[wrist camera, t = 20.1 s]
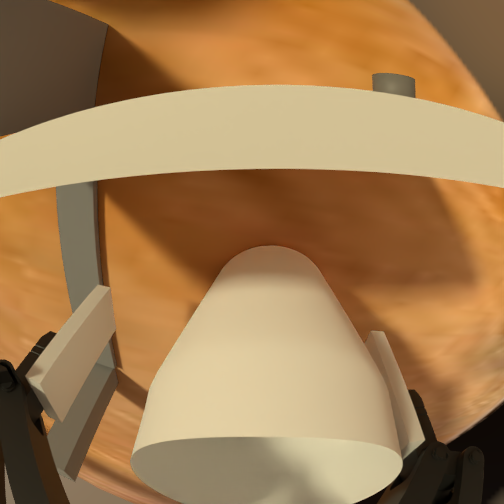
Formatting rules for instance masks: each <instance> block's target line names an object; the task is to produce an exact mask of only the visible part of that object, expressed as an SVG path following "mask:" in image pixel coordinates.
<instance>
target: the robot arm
mask: <svg viewBox="0 0 504 504" xmlns="http://www.w3.org/2000/svg"><path fill="white" fill-rule="evenodd" d="M115 330H116V325H115V318H114V311H113V304H112V296H111V288H110V287H106V286H102V285H97V286H96V287H95V288H94V290H93V291H92V292H91V293H90V294H89V295H88V296H87V298H86V299H85V300H84V301H83V302H82V303H81V305H80V306H79V307H78V308H77V309H76V311H75V312H74V313H73V314H72V315H71V317H70V318H69V319H68V320H67V322H66V323H65V324H64V325H63V327H62V328H61V329H60V330H59V332H58V333H54V332H51V331H50V332H48V333H47V334H45V335H44V336H42V337H41V338H40V340H39V341H38V342H37V343H36V346H34V347H33V348H32V350H31V352H29V353H28V355H27V356H26V357H25V359H24V360H23V361H22V363H21V364H20V365H19V367H18V368H17V369H16V371H15V369H14V367H13V365H12V364H11V363H10V362H9V361H7V360H0V504H6V497H5V470H4V469H5V468H4V466H6V470H7V475H8V479H9V483H10V486H11V490H12V494H13V497H14V500H15V504H70V503H69V500H68V498H67V496H66V493H65V490H64V488H63V485H62V482H61V480H60V477H59V474H58V471H57V468H56V465H55V462H54V459H53V456H52V452H51V449H50V446H49V442H48V438H47V435H46V431H45V427H44V422H43V418H42V416H41V413H42V411H43V409H44V410H45V412H46V414H47V415H48V417H50V418H53V419H55V420H57V421H59V422H61V423H62V422H63V420H64V418H65V417H66V415H67V413H68V411H69V409H70V407H71V405H72V404H73V402H74V400H75V398H76V396H77V394H78V393H79V391H80V389H81V387H82V385H83V384H84V382H85V380H86V378H87V377H88V375H89V373H90V372H91V370H92V368H93V366H94V365H95V363H96V361H97V360H98V358H99V356H100V355H101V353H102V351H103V350H104V348H105V346H106V345H107V343H108V341H109V340H110V338H111V337H112V335H113V333H114V332H115ZM365 346H366V348H367V350H368V351H369V353H370V355H371V357H372V358H373V360H374V362H375V364H376V366H377V367H378V369H379V371H380V373H381V375H382V376H383V379H384V381H385V383H386V385H387V388H388V391H389V395H390V400H391V405H392V410H393V415H394V420H395V425H396V430H397V435H398V440H399V445H400V450H401V455H402V461H403V467H402V470H401V472H400V473H399V475H398V476H397V477H396V479H395V480H394V481H392V482H391V483H390V484H389V486H388V487H387V489H386V490H385V492H384V494H383V495H382V497H381V498H380V500H379V501H378V503H377V504H481V500H482V490H483V476H484V455H483V453H482V451H481V450H480V449H479V448H477V447H475V446H470V447H468V448H467V449H466V450H464V451H463V452H457V451H450V450H449V449H448V447H447V446H446V445H445V444H443V443H441V442H438V441H437V439H436V436H435V434H434V431H433V428H432V425H431V422H430V420H429V417H428V415H427V412H426V409H425V408H424V404H423V401H422V399H421V397H420V396H419V394H418V393H417V392H416V391H415V390H407V387H406V384H405V382H404V379H403V377H402V374H401V372H400V369H399V367H398V364H397V362H396V359H395V357H394V354H393V352H392V350H391V347H390V345H389V343H388V340H387V338H386V336H385V333H384V331H372V330H371V331H370V333H369V335H368V337H367V339H366V341H365Z"/></svg>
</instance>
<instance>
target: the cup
mask: <svg viewBox="0 0 504 504" xmlns="http://www.w3.org/2000/svg"><path fill="white" fill-rule="evenodd" d="M130 464H131V467H132V470H133V471H134V473H135V474H136V475H137V477H138V478H139V479H140V480H142V481H143V482H144V483H145V484H146V485H148V486H149V487H151V488H152V489H154V490H155V491H157V492H159V493H161V494H162V495H164V496H166V497H169V498H171V499H173V500H175V501H178V502H180V503H183V504H353V503H356V502H359V501H361V500H363V499H365V498H368V497H369V496H372V495H374V494H375V493H377V492H379V491H380V490H382V489H383V488H385V487H386V486H388V485H389V484H390V483H391V482H392V481H394V480H395V479H396V477H397V476H398V475H399V473H400V472H401V470H402V467H403V461H402V455H401V450H400V445H399V440H398V435H397V430H396V425H395V420H394V415H393V410H392V405H391V400H390V395H389V391H388V388H387V385H386V383H385V381H384V379H383V376H382V375H381V373H380V371H379V369H378V367H377V366H376V364H375V362H374V360H373V358H372V357H371V355H370V353H369V351H368V350H367V348H366V346H365V344H364V343H363V341H362V339H361V338H360V336H359V334H358V333H357V331H356V329H355V327H354V326H353V324H352V322H351V321H350V319H349V317H348V316H347V314H346V312H345V311H344V309H343V308H342V306H341V304H340V303H339V301H338V299H337V298H336V296H335V294H334V293H333V291H332V290H331V288H330V286H329V285H328V283H327V282H326V280H325V278H324V277H323V275H322V274H321V272H320V271H319V269H318V267H317V266H316V265H315V264H314V263H313V262H312V261H311V260H310V259H309V258H308V257H306V256H305V255H303V254H302V253H300V252H298V251H296V250H293V249H290V248H287V247H282V246H273V245H268V246H259V247H254V248H251V249H248V250H245V251H243V252H241V253H239V254H238V255H236V256H235V257H233V258H232V259H231V260H230V261H229V262H228V263H227V264H226V265H225V266H224V267H223V269H222V270H221V272H220V273H219V275H218V276H217V278H216V279H215V281H214V283H213V284H212V286H211V287H210V289H209V290H208V292H207V294H206V295H205V297H204V298H203V300H202V301H201V303H200V305H199V306H198V308H197V309H196V311H195V312H194V314H193V316H192V317H191V319H190V320H189V322H188V323H187V325H186V327H185V328H184V330H183V331H182V333H181V335H180V336H179V338H178V339H177V341H176V343H175V344H174V346H173V347H172V349H171V351H170V352H169V354H168V356H167V357H166V359H165V360H164V362H163V364H162V365H161V367H160V369H159V370H158V372H157V374H156V376H155V378H154V380H153V382H152V384H151V386H150V389H149V392H148V396H147V401H146V405H145V410H144V413H143V417H142V421H141V424H140V428H139V431H138V435H137V438H136V442H135V445H134V449H133V452H132V456H131V460H130Z"/></svg>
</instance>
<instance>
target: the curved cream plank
mask: <svg viewBox="0 0 504 504" xmlns="http://www.w3.org/2000/svg"><path fill="white" fill-rule="evenodd" d="M372 80H373V91H368V90H359V89H350V88H339V87H325V86H306V85H247V86H228V87H214V88H203V89H194V90H185V91H177V92H170V93H163V94H157V95H151V96H145V97H140V98H134V99H129V100H124V101H120V102H115V103H111V104H107V105H102V106H98V107H94V108H91V109H87V110H83V111H80V112H76V113H73V114H69V115H66V116H63V117H59V118H56V119H53V120H50V121H47V122H44V123H41V124H39V125H36V126H33V127H30V128H28V129H25V130H22V131H20V132H17V133H15V134H12V135H10V136H8V137H5V138H3V139H1V140H0V197H4V196H9V195H13V194H18V193H23V192H28V191H33V190H39V189H44V188H50V187H56V186H62V185H68V184H75V183H82V182H89V181H96V180H104V179H112V178H121V177H130V176H140V175H150V174H162V173H175V172H190V171H208V170H232V169H326V170H350V171H368V172H382V173H395V174H406V175H416V176H426V177H435V178H443V179H451V180H458V181H465V182H472V183H478V184H484V185H490V186H496V187H502V188H504V122H501V121H498V120H495V119H492V118H489V117H486V116H483V115H480V114H477V113H473V112H470V111H466V110H463V109H459V108H456V107H452V106H448V105H444V104H440V103H435V102H431V101H427V100H422V99H417V98H415V79H414V78H411V77H408V76H404V75H399V74H391V73H377V74H373V75H372Z"/></svg>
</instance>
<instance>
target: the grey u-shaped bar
mask: <svg viewBox="0 0 504 504" xmlns="http://www.w3.org/2000/svg"><path fill="white" fill-rule="evenodd" d="M107 28H108V24H106V23H104V22H102V21H99V20H97V19H95V18H92V17H90V16H88V15H85V14H83V13H80V12H78V11H75V10H73V9H70V8H68V7H65V6H62V5H60V4H57V3H54V2H51V1H48V0H0V136H4V135H8V134H13V133H17V132H20V131H22V130H25V129H28V128H30V127H33V126H36V125H39V124H41V123H44V122H47V121H50V120H53V119H56V118H59V117H63V116H66V115H69V114H73V113H76V112H80V111H83V110H87V109H91V108H94V107H95V98H96V90H97V83H98V76H99V70H100V63H101V58H102V52H103V47H104V42H105V37H106V33H107ZM56 197H57V213H58V225H59V234H60V243H61V251H62V258H63V265H64V271H65V277H66V282H67V288H68V293H69V298H70V303H71V307H72V312H73V313H74V312H75V311H76V309H77V308H78V307H79V306H80V305H81V303H82V302H83V301H84V300H85V299H86V298H87V296H88V295H89V294H90V293H91V292H92V291H93V290H94V288H95V287H96V286H97V285H102V286H103V279H102V269H101V259H100V246H99V230H98V202H97V180H96V181H89V182H82V183H75V184H68V185H62V186H56ZM116 366H117V363H116V359H115V354H114V349H113V344H112V339H111V338H110V340H109V341H108V343H107V345H106V346H105V348H104V350H103V351H102V353H101V355H100V356H99V358H98V360H97V361H96V363H95V365H94V366H93V368H92V370H91V372H90V373H89V375H88V377H87V378H86V380H85V382H84V384H83V385H82V387H81V389H80V391H79V393H78V394H77V396H76V398H75V400H74V402H73V404H72V405H71V407H70V409H69V411H68V413H67V415H66V417H65V418H64V420H63V422H62V423H61V422H59V421H57V420H55V422H54V424H53V426H52V428H51V429H50V431H49V433H48V435H47V438H48V442H49V446H50V449H51V452H52V456H53V459H54V462H55V465H56V468H57V471H58V474H60V475H62V476H64V477H66V478H68V479H70V480H72V481H75V480H76V478H77V475H78V473H79V470H80V468H81V466H82V463H83V461H84V458H85V456H86V453H87V451H88V449H89V446H90V444H91V442H92V439H93V437H94V435H95V433H96V430H97V428H98V426H99V424H100V421H101V419H102V417H103V415H104V413H105V410H106V408H107V406H108V404H109V402H110V400H111V398H112V395H113V393H114V391H115V389H116V387H117V385H118V379H117V375H116V371H115V367H116Z"/></svg>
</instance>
